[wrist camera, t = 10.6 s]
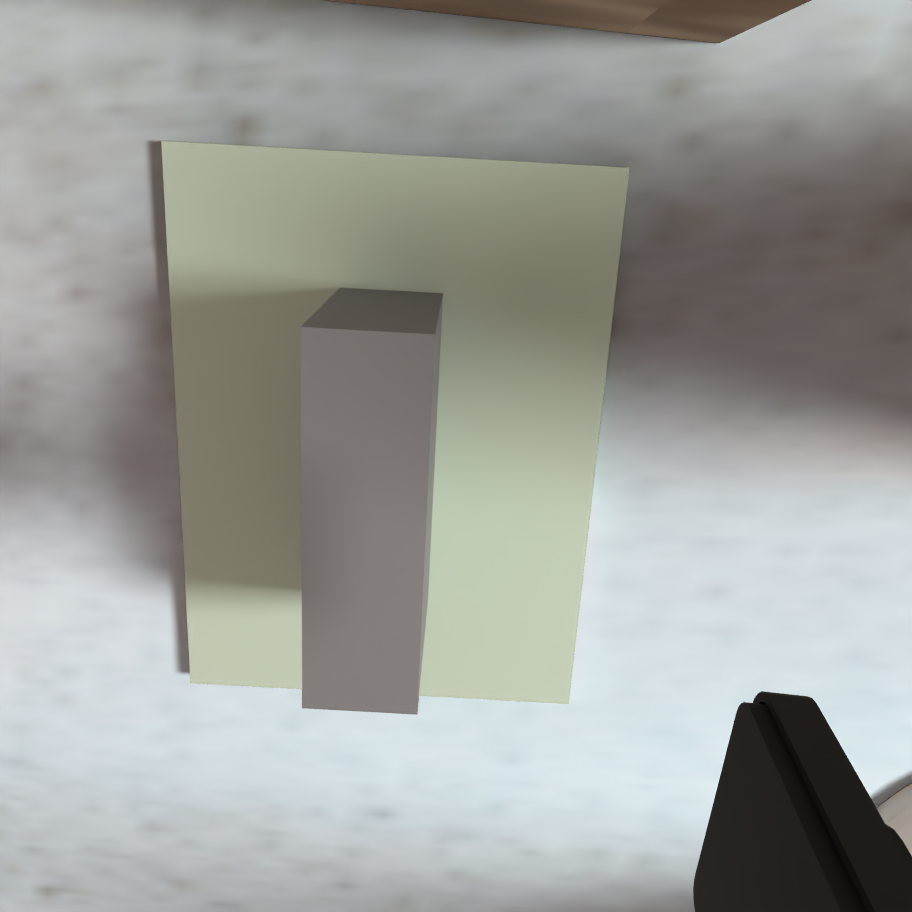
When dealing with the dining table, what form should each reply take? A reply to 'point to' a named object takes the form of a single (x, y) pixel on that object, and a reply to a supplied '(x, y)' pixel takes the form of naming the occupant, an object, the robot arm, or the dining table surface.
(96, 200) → the dining table surface
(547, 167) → the cover plate
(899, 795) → the candlestick
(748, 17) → the walnut box
